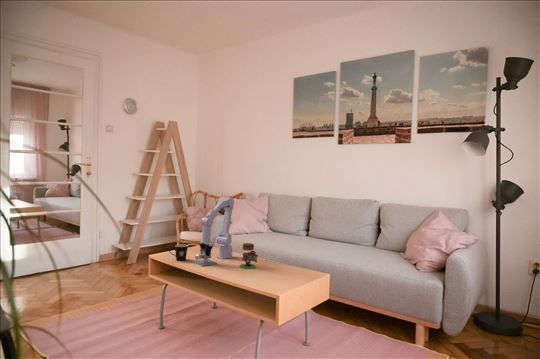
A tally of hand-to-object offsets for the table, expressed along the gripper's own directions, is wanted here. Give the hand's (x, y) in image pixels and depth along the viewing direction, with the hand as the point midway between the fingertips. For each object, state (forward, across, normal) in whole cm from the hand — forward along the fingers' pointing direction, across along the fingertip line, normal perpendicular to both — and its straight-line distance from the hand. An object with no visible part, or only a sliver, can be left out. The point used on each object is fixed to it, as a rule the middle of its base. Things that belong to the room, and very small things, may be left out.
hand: (205, 255), depth 243 cm
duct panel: (+6, 0, 0) cm, 6 cm away
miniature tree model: (+6, +22, +20) cm, 30 cm away
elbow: (+2, 0, -2) cm, 3 cm away
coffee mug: (+6, -18, -11) cm, 22 cm away
